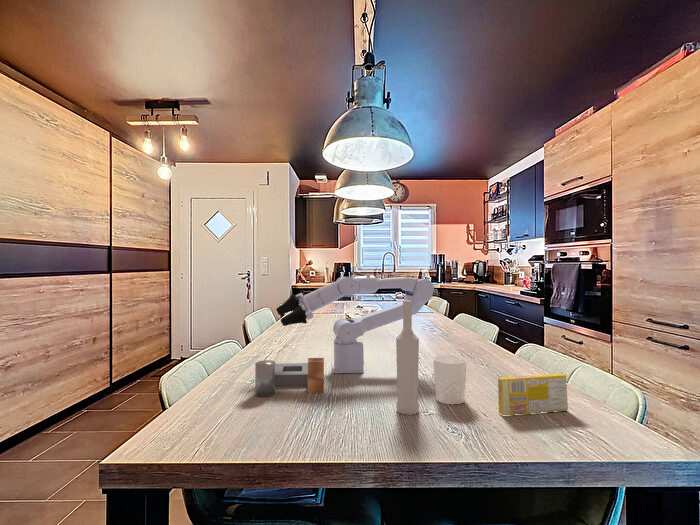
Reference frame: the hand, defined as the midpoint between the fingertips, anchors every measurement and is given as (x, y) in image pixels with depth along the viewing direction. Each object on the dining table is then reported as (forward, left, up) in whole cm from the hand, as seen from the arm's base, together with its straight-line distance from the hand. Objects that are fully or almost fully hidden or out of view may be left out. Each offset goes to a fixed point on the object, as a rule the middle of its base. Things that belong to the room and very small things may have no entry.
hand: (279, 317), depth 112 cm
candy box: (-60, +34, -18) cm, 72 cm away
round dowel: (+2, +17, -17) cm, 24 cm away
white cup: (-44, +25, -18) cm, 54 cm away
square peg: (-11, +15, -17) cm, 26 cm away
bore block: (-4, +5, -17) cm, 19 cm away
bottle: (-32, +31, -18) cm, 48 cm away
